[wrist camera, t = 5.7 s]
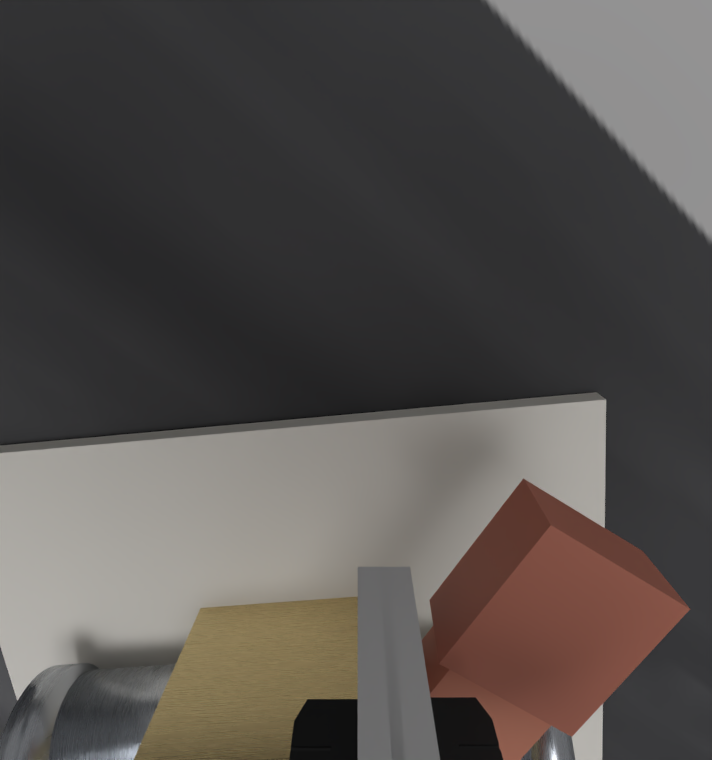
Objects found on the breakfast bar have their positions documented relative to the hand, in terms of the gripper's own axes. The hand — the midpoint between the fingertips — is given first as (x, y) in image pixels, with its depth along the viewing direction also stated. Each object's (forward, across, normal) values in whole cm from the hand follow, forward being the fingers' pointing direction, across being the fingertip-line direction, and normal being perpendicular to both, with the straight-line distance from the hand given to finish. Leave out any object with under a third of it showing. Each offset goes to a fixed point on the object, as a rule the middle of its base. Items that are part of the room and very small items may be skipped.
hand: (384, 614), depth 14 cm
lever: (0, 0, -5) cm, 5 cm away
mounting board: (+11, -3, -8) cm, 14 cm away
